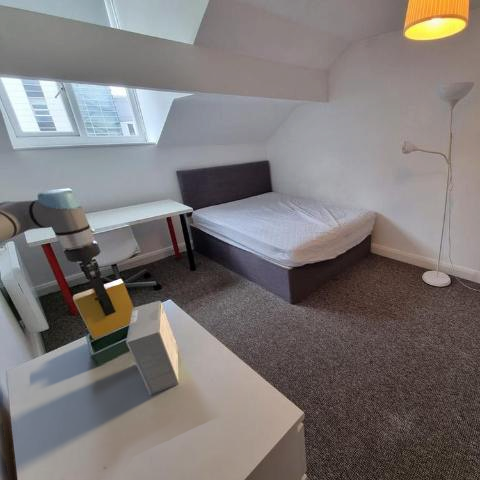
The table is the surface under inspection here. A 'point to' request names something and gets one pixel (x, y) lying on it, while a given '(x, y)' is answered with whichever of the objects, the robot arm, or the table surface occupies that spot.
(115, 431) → the table surface
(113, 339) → the caddy
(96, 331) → the book
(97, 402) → the table surface
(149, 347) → the hard drive box
